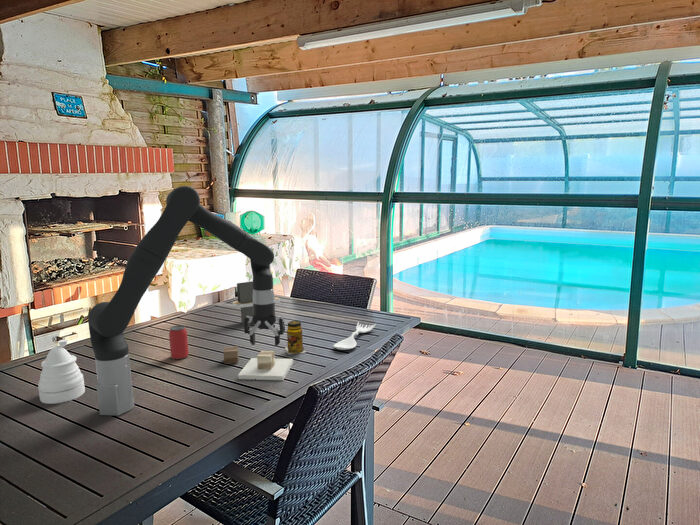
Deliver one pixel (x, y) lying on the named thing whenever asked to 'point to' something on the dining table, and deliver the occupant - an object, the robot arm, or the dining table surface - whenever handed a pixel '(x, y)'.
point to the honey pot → (60, 377)
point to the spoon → (352, 338)
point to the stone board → (266, 370)
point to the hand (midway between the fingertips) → (265, 344)
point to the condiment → (294, 338)
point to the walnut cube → (231, 355)
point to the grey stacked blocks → (246, 300)
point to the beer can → (178, 342)
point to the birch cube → (266, 360)
